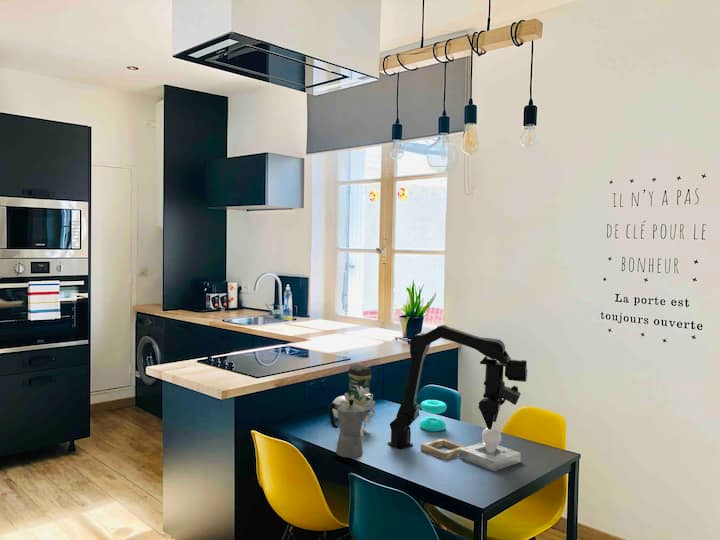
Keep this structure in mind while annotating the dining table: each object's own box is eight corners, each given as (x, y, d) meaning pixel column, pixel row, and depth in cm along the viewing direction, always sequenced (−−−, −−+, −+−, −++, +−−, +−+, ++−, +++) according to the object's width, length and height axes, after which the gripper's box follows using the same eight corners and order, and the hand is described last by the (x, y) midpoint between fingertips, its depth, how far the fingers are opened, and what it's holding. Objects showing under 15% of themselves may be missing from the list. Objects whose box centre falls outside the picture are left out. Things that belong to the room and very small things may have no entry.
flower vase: (331, 436, 232) (354, 440, 210) (321, 390, 235) (342, 389, 212) (361, 427, 238) (386, 430, 215) (350, 382, 240) (374, 380, 217)
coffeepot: (373, 452, 197) (375, 399, 196) (360, 461, 188) (362, 405, 188) (333, 443, 204) (335, 392, 203) (319, 451, 196) (321, 398, 195)
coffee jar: (343, 407, 249) (345, 364, 249) (357, 404, 255) (359, 362, 254) (359, 413, 242) (360, 368, 242) (373, 410, 248) (374, 366, 247)
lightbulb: (500, 464, 191) (502, 431, 190) (480, 462, 192) (482, 429, 191) (499, 457, 197) (501, 425, 196) (480, 455, 198) (482, 423, 197)
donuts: (418, 404, 222) (422, 398, 232) (417, 430, 223) (421, 423, 232) (445, 407, 220) (448, 400, 229) (444, 433, 220) (446, 425, 230)
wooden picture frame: (445, 459, 193) (445, 453, 193) (420, 450, 201) (420, 444, 201) (466, 453, 200) (467, 447, 200) (442, 443, 208) (442, 438, 208)
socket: (494, 471, 185) (494, 461, 184) (459, 457, 195) (459, 448, 195) (520, 461, 194) (520, 452, 193) (486, 449, 204) (486, 441, 204)
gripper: (515, 387, 182) (513, 437, 182) (522, 375, 199) (520, 421, 200) (479, 383, 186) (477, 431, 186) (489, 372, 203) (487, 416, 204)
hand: (492, 425), depth 194 cm, fingers open, 9 cm apart
